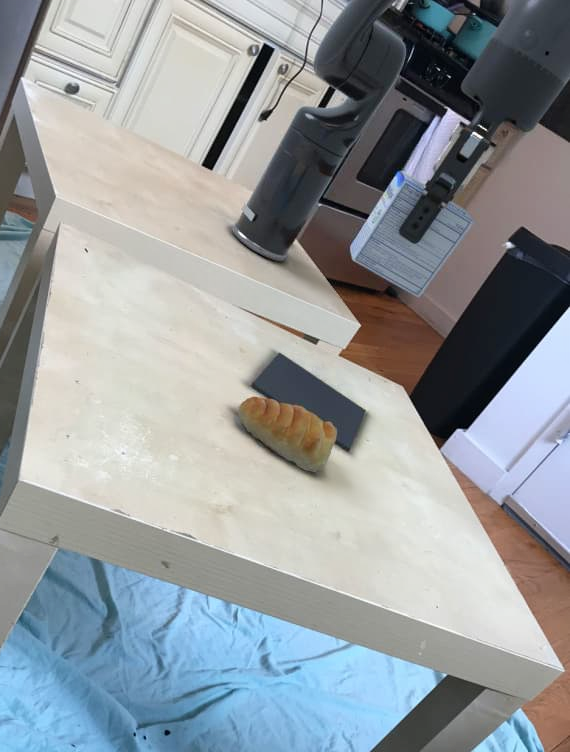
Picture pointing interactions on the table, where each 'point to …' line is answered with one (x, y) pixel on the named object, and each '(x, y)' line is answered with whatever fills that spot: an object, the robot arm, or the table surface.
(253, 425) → the pastry
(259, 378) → the mat
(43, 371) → the table surface
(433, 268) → the medicine box
